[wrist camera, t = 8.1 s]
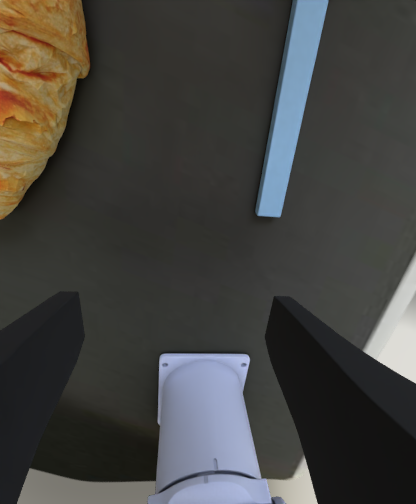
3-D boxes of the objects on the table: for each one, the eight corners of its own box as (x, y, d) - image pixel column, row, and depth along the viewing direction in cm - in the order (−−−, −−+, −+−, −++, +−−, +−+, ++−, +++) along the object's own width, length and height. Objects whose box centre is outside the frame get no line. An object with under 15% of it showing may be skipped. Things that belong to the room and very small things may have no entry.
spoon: (297, 215, 19) (303, 220, 18) (233, 211, 18) (235, 215, 17) (392, -166, 11) (411, -191, 11) (290, -193, 11) (300, -221, 10)
